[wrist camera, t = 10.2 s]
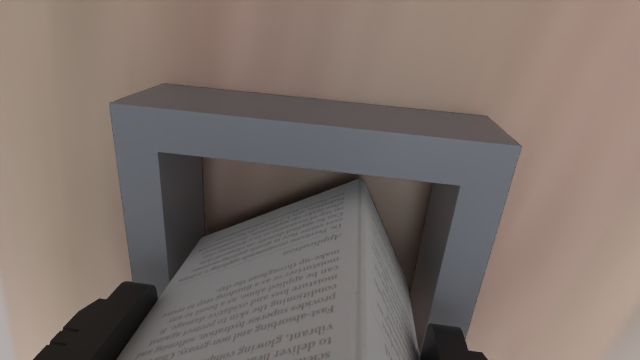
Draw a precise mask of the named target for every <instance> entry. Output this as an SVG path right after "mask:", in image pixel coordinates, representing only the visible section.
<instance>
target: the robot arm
mask: <svg viewBox="0 0 640 360" xmlns="http://www.w3.org/2000/svg"><path fill="white" fill-rule="evenodd" d="M157 300H158V296H157V289H156V287H155V286H154V285H150V284H143V283H135V282H128V281H125V282H123V283H121V284H120V285H119V286H118V287H117V288H116V290H115V291H114V292H113V293H112V294H111V295H110V296H109V297H108V299H98V300H96V301H95V302H93V303H91V304H90V305H88V306H87V307H85V308H83V309H82V310H80V311H79V312H78V313H77V314H76V315H75V316H74V317H73V318H72V319H71V320H70V321H69V322H68V323H67V324H66V325H65V326H64V327H63V330H62V331H60V332H59V333H58V334H57V335H56V336H55V337H54V338H53V339H52V340H51V341H50V344H49V345H46V346H45V347H44V348H43V349H42V351H41V352H40V353H39V354H38V355H37V356H36V357H35V358H34V359H33V360H116V359H117V358H118V356H119V355H120V353H121V352H122V350H123V349H124V348H125V346H126V345H127V343H128V342H129V340H130V339H131V337H132V336H133V335H134V333H135V332H136V331H137V329H138V327H139V326H140V324H141V323H142V322H143V320H144V319H145V317H146V316H147V314H148V313H149V312H150V310H151V309H152V307H153V306H154V305H155V303H156V302H157ZM420 360H488V359H487V358H486V357H485V356H484V354H483V353H482V352H474V351H468V348H467V345H466V342H465V338H464V335H463V332H462V330H461V328H460V327H455V326H447V325H440V324H433V323H429V325H428V327H427V330H426V334H425V338H424V342H423V347H422V351H421V355H420Z"/></svg>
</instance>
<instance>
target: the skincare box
mask: <svg viewBox="0 0 640 360" xmlns="http://www.w3.org/2000/svg"><path fill="white" fill-rule="evenodd" d="M116 360H420V356H419V350H418V344H417V338H416V332H415V326H414V320H413V314H412V308H411V302H410V295H409V290H408V284H407V280H406V278H405V275H404V272H403V270H402V268H401V266H400V264H399V262H398V260H397V257H396V255H395V253H394V250H393V248H392V245H391V243H390V241H389V238H388V236H387V234H386V231H385V229H384V227H383V224H382V222H381V220H380V217H379V215H378V213H377V210H376V208H375V206H374V203H373V201H372V199H371V197H370V194H369V192H368V190H367V187H366V185H365V183H364V182H363V180H361V179H356V180H354V181H351V182H349V183H346V184H343V185H341V186H338V187H335V188H333V189H330V190H327V191H325V192H322V193H319V194H317V195H314V196H311V197H308V198H306V199H303V200H300V201H298V202H295V203H292V204H290V205H287V206H284V207H282V208H279V209H276V210H274V211H271V212H268V213H266V214H263V215H260V216H258V217H255V218H252V219H250V220H247V221H245V222H242V223H239V224H236V225H234V226H231V227H229V228H226V229H223V230H220V231H217V232H215V233H212V234H209V235H206V236H204V237H202V238H201V239H200V240H199V242H198V243H197V245H196V246H195V247H194V249H193V250H192V252H191V253H190V254H189V256H188V257H187V259H186V260H185V261H184V263H183V264H182V266H181V267H180V269H179V270H178V272H177V273H176V274H175V276H174V277H173V279H172V280H171V281H170V283H169V284H168V286H167V287H166V289H165V290H164V291H163V293H162V294H161V296H160V297H159V299H158V300H157V302H156V303H155V305H154V306H153V307H152V309H151V310H150V312H149V313H148V314H147V316H146V317H145V319H144V320H143V322H142V323H141V324H140V326H139V327H138V329H137V331H136V332H135V333H134V335H133V336H132V337H131V339H130V340H129V342H128V343H127V345H126V346H125V348H124V349H123V350H122V352H121V353H120V355H119V356H118V358H117V359H116Z"/></svg>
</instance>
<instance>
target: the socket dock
mask: <svg viewBox="0 0 640 360" xmlns="http://www.w3.org/2000/svg"><path fill="white" fill-rule="evenodd" d="M109 107H110V115H111V122H112V130H113V137H114V145H115V152H116V160H117V167H118V175H119V182H120V190H121V197H122V205H123V212H124V220H125V227H126V235H127V243H128V250H129V258H130V265H131V273H132V280H133V282H135V283H143V284H150V285H154V286H155V287H156V289H157V296H158V299H159V297H160V296H161V294H162V293H163V291H164V290H165V289H166V287H167V286H168V284H169V283H170V281H171V280H172V279H173V277H174V276H175V274H176V273H177V272H178V270H179V269H180V267H181V266H182V264H183V263H184V261H185V260H186V259H187V257H188V256H189V254H190V253H191V252H192V250H193V249H194V247H195V246H196V245H197V243H198V242H199V240H200V239H201V238H202V237H204V236H205V224H204V201H203V177H202V157H208V158H217V159H226V160H235V161H244V162H253V163H262V164H270V165H279V166H288V167H297V168H306V169H315V170H324V171H333V172H342V173H351V174H360V175H369V176H378V177H386V178H395V179H404V180H413V181H422V182H431V183H433V187H432V191H431V196H430V201H429V206H428V211H427V215H426V220H425V225H424V230H423V235H422V239H421V244H420V249H419V254H418V259H417V263H416V268H415V273H414V278H413V283H412V287H411V292H410V302H411V308H412V314H413V320H414V326H415V332H416V338H417V344H418V350H419V356H420V355H421V351H422V347H423V342H424V338H425V334H426V330H427V327H428V325H429V323H433V324H440V325H447V326H455V327H460V328H461V330H462V332H463V335H464V338H465V339H466V335H467V332H468V328H469V325H470V321H471V318H472V315H473V311H474V308H475V304H476V301H477V298H478V294H479V291H480V287H481V284H482V281H483V277H484V274H485V270H486V267H487V263H488V260H489V257H490V253H491V250H492V246H493V243H494V240H495V236H496V233H497V229H498V226H499V222H500V219H501V216H502V212H503V209H504V205H505V202H506V199H507V195H508V192H509V188H510V185H511V182H512V178H513V175H514V171H515V168H516V164H517V161H518V158H519V154H520V151H521V147H522V146H521V145H520V144H519V143H518V142H516V141H515V140H514V139H513V138H512V137H511V136H510V135H508V134H507V133H506V132H505V131H504V130H503V129H501V128H500V127H499V126H498V125H497V124H496V123H495V122H493V121H492V120H491V119H490V118H489V117H488V116H481V115H471V114H461V113H451V112H441V111H431V110H421V109H411V108H401V107H391V106H381V105H371V104H361V103H351V102H341V101H331V100H321V99H311V98H301V97H291V96H281V95H271V94H261V93H251V92H242V91H232V90H222V89H212V88H202V87H192V86H182V85H172V84H161V85H158V86H155V87H152V88H149V89H147V90H144V91H141V92H138V93H135V94H133V95H130V96H127V97H124V98H122V99H119V100H116V101H113V102H110V103H109Z"/></svg>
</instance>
